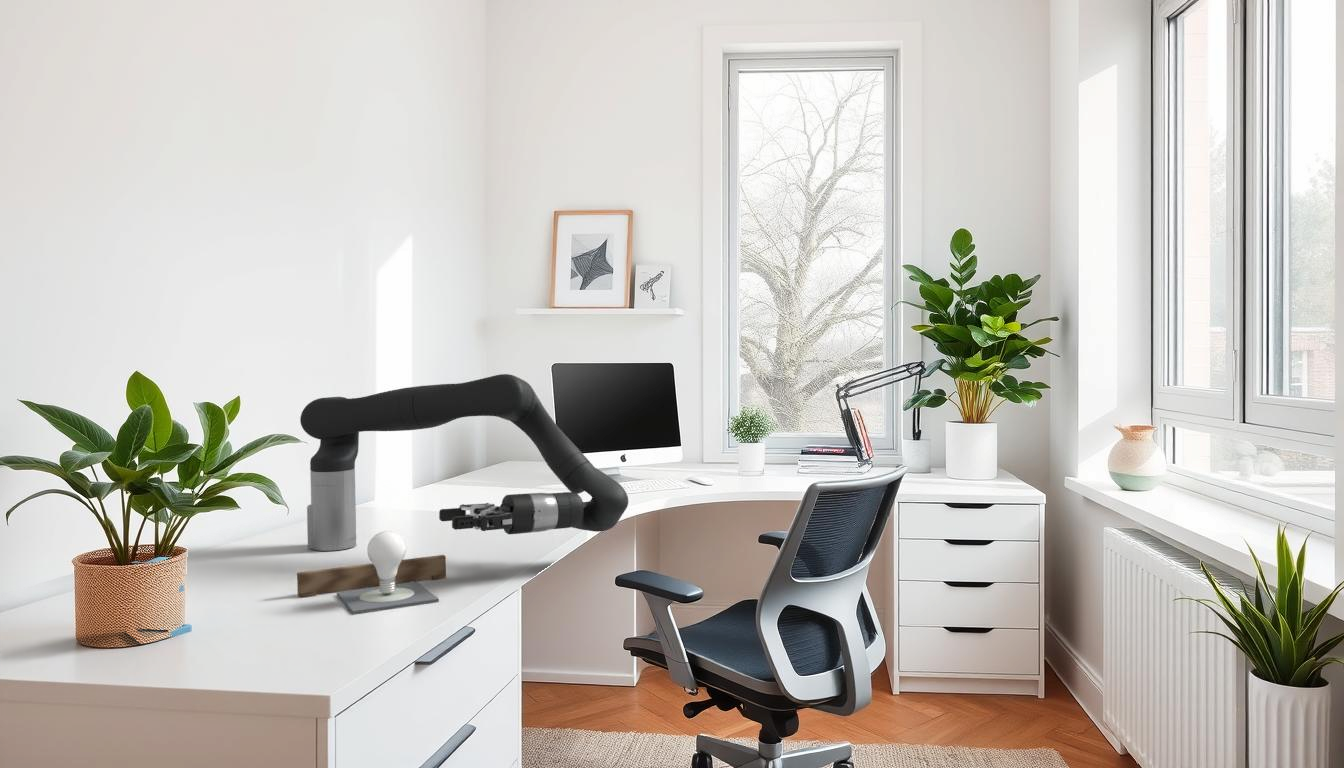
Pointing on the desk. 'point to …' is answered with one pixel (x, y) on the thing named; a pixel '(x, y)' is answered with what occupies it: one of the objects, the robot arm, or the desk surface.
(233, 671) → the desk surface
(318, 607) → the desk surface
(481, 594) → the desk surface
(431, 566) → the walnut fence
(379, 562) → the lightbulb
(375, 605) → the mat
